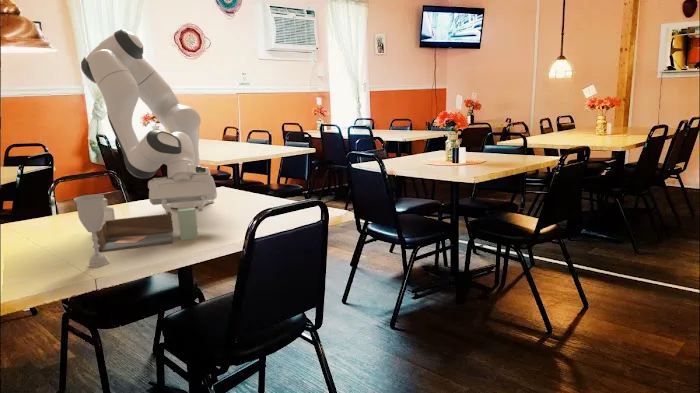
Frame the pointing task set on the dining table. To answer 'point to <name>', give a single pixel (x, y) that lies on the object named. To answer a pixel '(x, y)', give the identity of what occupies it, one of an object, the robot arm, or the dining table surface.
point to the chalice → (92, 222)
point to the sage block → (187, 223)
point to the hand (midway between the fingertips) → (184, 212)
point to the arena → (135, 232)
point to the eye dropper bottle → (108, 211)
